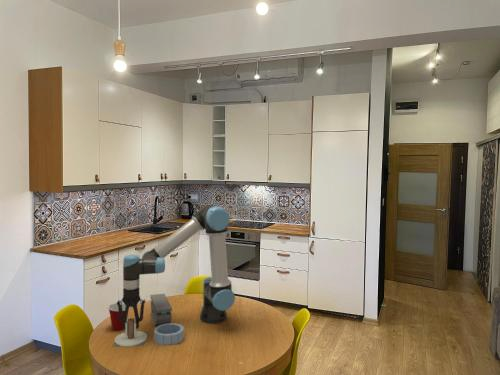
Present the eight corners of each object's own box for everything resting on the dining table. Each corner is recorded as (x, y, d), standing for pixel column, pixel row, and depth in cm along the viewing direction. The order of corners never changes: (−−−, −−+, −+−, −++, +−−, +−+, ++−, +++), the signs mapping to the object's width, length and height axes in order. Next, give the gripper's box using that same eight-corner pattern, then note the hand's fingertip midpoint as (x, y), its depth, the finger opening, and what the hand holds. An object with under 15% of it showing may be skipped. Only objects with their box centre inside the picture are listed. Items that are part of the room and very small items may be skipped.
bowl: (184, 332, 188) (184, 322, 188) (182, 345, 174) (182, 334, 174) (156, 333, 187) (156, 323, 187) (152, 346, 173) (152, 335, 173)
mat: (148, 333, 186) (148, 332, 186) (143, 346, 172) (143, 345, 172) (119, 334, 185) (119, 333, 185) (112, 347, 171) (112, 346, 171)
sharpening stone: (171, 328, 193) (172, 308, 192) (156, 331, 190) (156, 310, 189) (164, 311, 216) (164, 293, 215) (150, 313, 213) (150, 295, 212)
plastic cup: (128, 332, 187) (128, 309, 187) (105, 333, 185) (105, 310, 185) (131, 323, 198) (131, 301, 197) (110, 324, 196) (110, 302, 196)
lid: (149, 332, 187) (149, 313, 186) (144, 346, 172) (144, 325, 172) (118, 333, 185) (119, 313, 185) (111, 347, 170) (111, 326, 170)
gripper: (150, 284, 182) (149, 331, 183) (115, 285, 180) (115, 332, 181) (147, 289, 175) (147, 338, 176) (111, 290, 173) (111, 339, 174)
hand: (131, 335), depth 179 cm, fingers open, 3 cm apart
